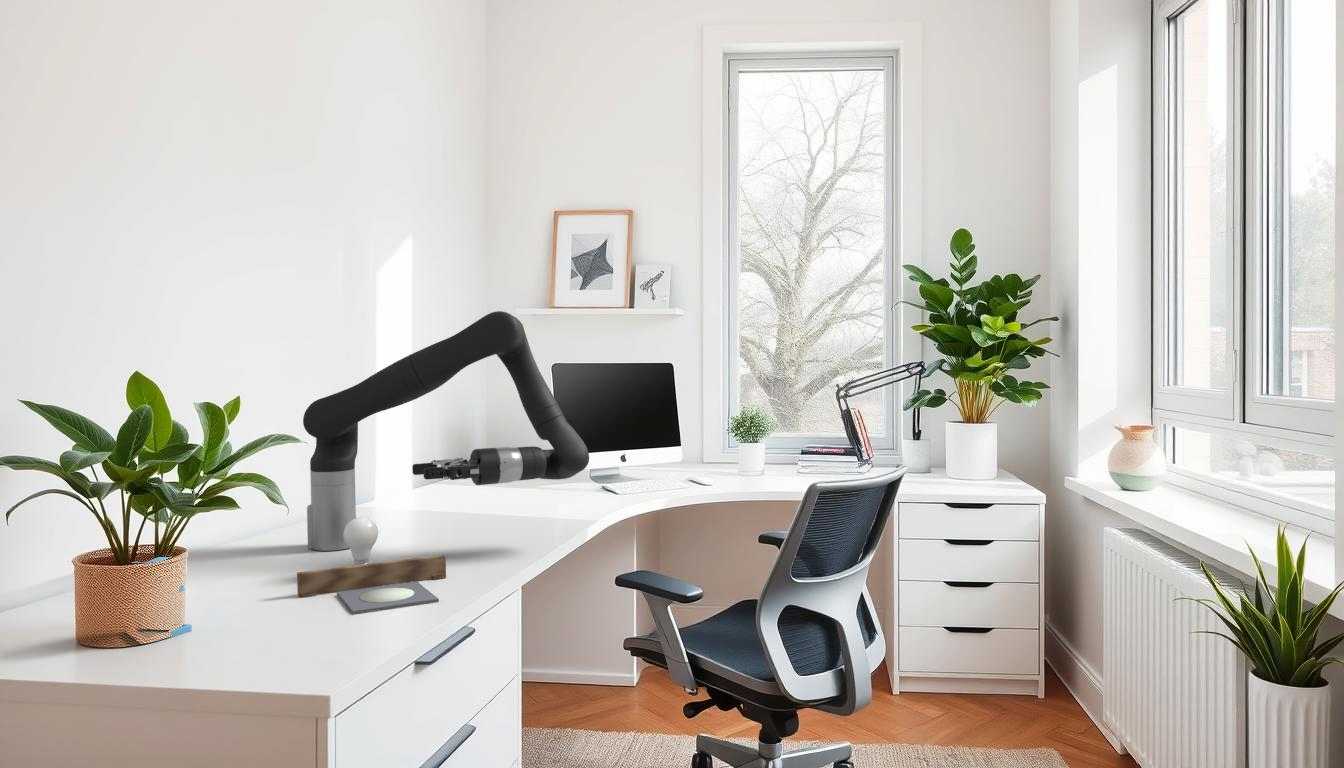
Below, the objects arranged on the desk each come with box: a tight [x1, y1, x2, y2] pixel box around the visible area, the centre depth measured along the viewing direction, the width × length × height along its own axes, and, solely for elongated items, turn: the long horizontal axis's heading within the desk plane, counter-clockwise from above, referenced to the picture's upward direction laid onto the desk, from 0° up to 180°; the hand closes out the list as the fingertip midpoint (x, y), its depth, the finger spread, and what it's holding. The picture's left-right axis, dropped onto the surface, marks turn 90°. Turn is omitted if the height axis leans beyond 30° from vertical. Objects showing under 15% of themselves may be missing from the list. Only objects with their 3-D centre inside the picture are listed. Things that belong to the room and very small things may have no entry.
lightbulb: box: [343, 516, 379, 566], centre depth 172 cm, size 6×6×11 cm
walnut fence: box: [296, 554, 447, 599], centre depth 163 cm, size 26×3×4 cm, turn 121°
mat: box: [336, 581, 440, 615], centre depth 154 cm, size 14×14×1 cm
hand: (418, 471), depth 177 cm, fingers open, 8 cm apart
